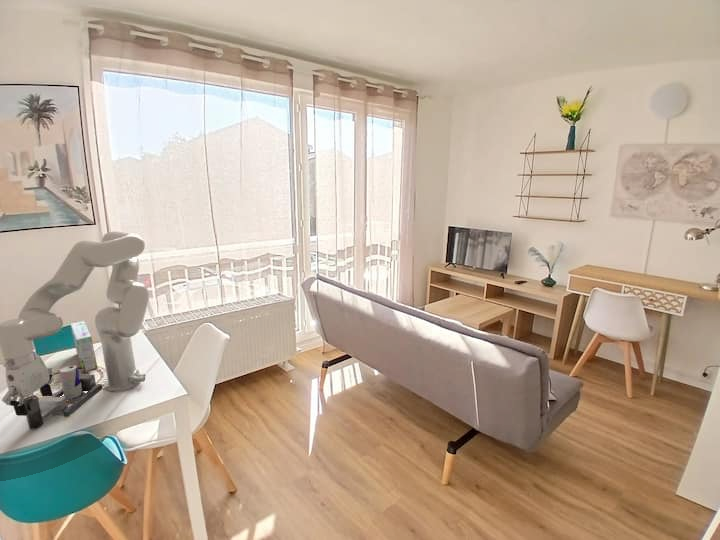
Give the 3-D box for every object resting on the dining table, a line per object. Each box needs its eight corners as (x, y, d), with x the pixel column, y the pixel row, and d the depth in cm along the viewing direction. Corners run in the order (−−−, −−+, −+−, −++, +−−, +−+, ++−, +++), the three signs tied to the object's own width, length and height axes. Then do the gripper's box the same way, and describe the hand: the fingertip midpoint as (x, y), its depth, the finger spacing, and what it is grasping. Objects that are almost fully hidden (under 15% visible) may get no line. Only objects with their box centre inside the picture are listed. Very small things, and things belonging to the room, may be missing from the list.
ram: (68, 409, 131) (63, 384, 129) (43, 429, 121) (37, 402, 119) (45, 409, 131) (39, 383, 129) (19, 428, 121) (12, 401, 119)
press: (102, 388, 145) (99, 374, 143) (68, 416, 128) (64, 401, 127) (70, 387, 145) (67, 373, 143) (32, 416, 128) (28, 400, 127)
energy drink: (86, 393, 142) (81, 364, 139) (76, 401, 136) (70, 372, 133) (72, 393, 141) (66, 364, 138) (61, 402, 136) (55, 372, 133)
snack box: (75, 354, 171) (69, 323, 167) (90, 350, 175) (85, 320, 171) (82, 372, 156) (75, 339, 152) (98, 368, 160) (92, 335, 156)
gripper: (7, 373, 109) (23, 423, 114) (55, 344, 125) (67, 389, 130) (-18, 373, 109) (-1, 423, 114) (33, 344, 125) (45, 389, 130)
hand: (35, 405), depth 122 cm, fingers open, 9 cm apart
